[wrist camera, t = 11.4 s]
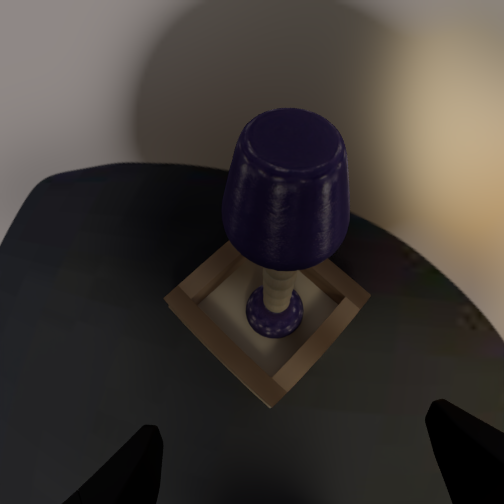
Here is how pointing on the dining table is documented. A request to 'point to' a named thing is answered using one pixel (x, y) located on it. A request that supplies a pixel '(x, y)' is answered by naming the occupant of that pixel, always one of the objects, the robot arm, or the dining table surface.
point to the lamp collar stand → (241, 333)
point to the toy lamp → (285, 208)
